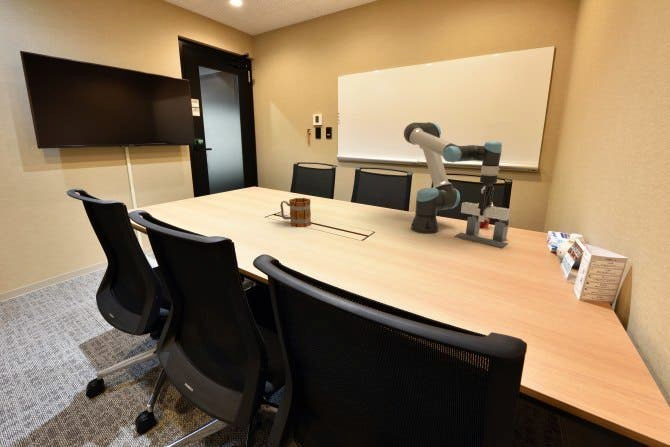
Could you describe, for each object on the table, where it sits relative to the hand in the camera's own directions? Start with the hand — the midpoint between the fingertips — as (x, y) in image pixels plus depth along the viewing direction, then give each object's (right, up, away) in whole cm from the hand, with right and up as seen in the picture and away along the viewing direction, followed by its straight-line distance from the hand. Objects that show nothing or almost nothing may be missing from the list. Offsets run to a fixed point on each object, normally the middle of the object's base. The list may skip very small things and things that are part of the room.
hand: (482, 220), depth 159 cm
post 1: (0, -7, +13) cm, 15 cm away
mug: (-99, -2, +33) cm, 105 cm away
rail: (0, +2, -1) cm, 3 cm away
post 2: (+10, -10, +4) cm, 15 cm away
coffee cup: (+12, -4, +25) cm, 28 cm away
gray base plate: (0, -10, +3) cm, 11 cm away
